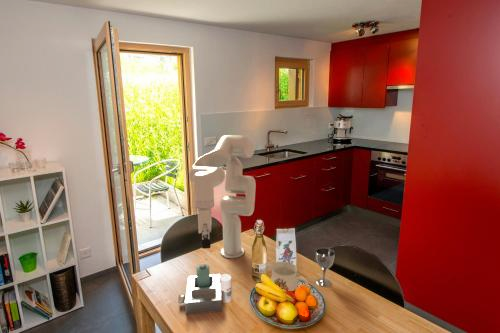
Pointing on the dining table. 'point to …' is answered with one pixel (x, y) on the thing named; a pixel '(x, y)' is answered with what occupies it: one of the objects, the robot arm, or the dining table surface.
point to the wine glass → (324, 264)
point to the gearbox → (202, 296)
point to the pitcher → (285, 275)
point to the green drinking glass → (203, 276)
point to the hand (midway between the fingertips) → (206, 241)
